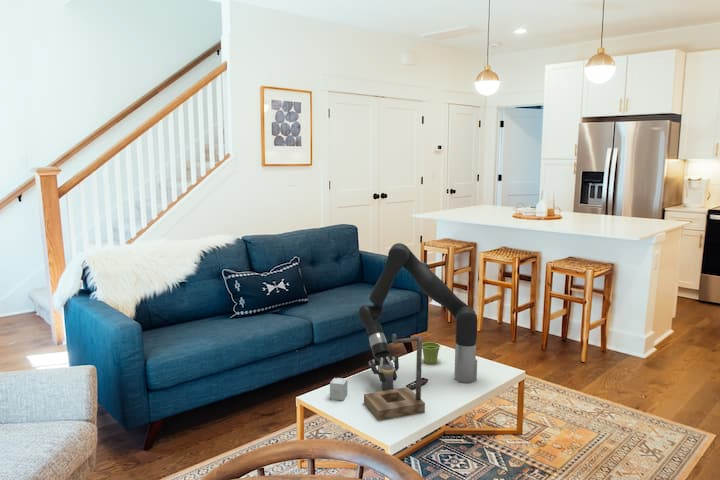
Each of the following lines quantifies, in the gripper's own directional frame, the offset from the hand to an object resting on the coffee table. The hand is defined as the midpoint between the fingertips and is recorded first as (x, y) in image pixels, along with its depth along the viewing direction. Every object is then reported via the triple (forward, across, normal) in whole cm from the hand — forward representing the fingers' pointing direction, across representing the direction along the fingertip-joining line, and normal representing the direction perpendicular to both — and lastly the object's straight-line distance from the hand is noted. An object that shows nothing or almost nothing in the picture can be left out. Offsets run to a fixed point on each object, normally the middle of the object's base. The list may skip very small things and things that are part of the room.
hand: (389, 380), depth 237 cm
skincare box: (+2, -22, +6) cm, 23 cm away
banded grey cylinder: (+2, 0, +5) cm, 5 cm away
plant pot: (-14, +33, +21) cm, 42 cm away
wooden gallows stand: (+14, -4, -6) cm, 16 cm away
